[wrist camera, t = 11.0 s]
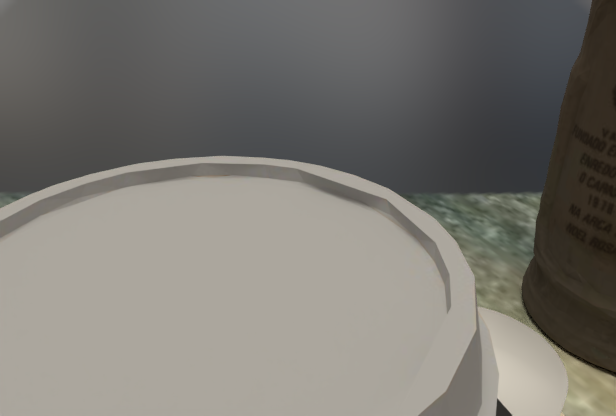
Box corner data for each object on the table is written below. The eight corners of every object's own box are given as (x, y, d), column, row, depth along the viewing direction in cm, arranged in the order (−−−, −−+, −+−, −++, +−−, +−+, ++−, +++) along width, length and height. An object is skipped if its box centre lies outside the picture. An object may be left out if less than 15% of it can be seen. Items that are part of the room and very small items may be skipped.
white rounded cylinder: (352, 415, 23) (360, 321, 21) (475, 382, 25) (495, 292, 22) (424, 555, 18) (445, 452, 16) (571, 501, 20) (610, 401, 17)
